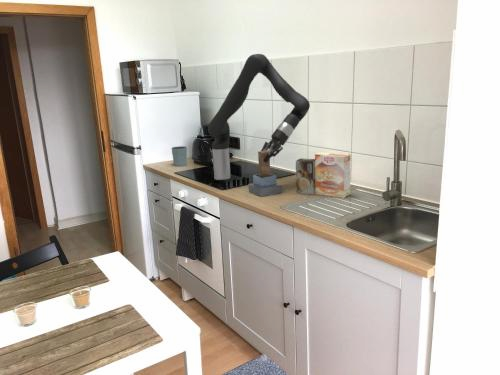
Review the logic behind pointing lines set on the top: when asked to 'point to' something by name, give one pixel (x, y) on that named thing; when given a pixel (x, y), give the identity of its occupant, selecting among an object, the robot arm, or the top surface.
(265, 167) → the walnut rail
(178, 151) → the grey-blue cup
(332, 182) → the coffeecake box
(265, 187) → the cup bracket
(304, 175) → the coffee box
